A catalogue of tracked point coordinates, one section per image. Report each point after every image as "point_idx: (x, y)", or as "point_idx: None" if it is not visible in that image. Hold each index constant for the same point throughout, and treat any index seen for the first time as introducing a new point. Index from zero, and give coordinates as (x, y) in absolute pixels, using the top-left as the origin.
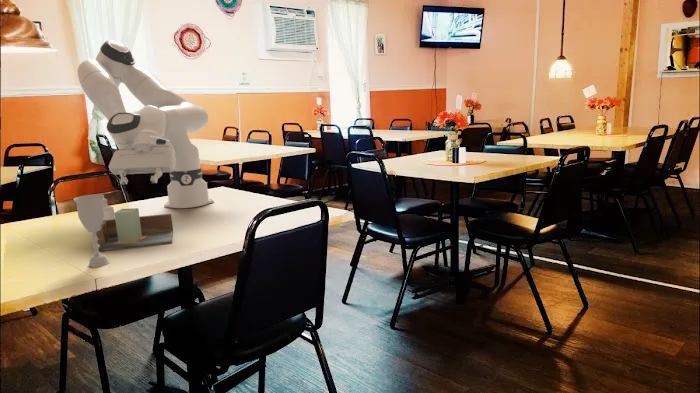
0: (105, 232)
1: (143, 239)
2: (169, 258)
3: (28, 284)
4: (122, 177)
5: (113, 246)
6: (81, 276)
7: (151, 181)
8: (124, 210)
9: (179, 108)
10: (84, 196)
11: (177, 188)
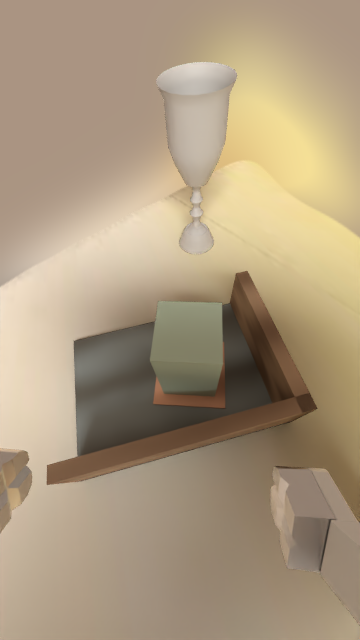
0: (264, 360)
1: (153, 371)
2: (73, 253)
3: (259, 185)
4: (334, 512)
5: None
6: None
7: (23, 458)
8: (196, 329)
9: None
10: (224, 90)
11: None
